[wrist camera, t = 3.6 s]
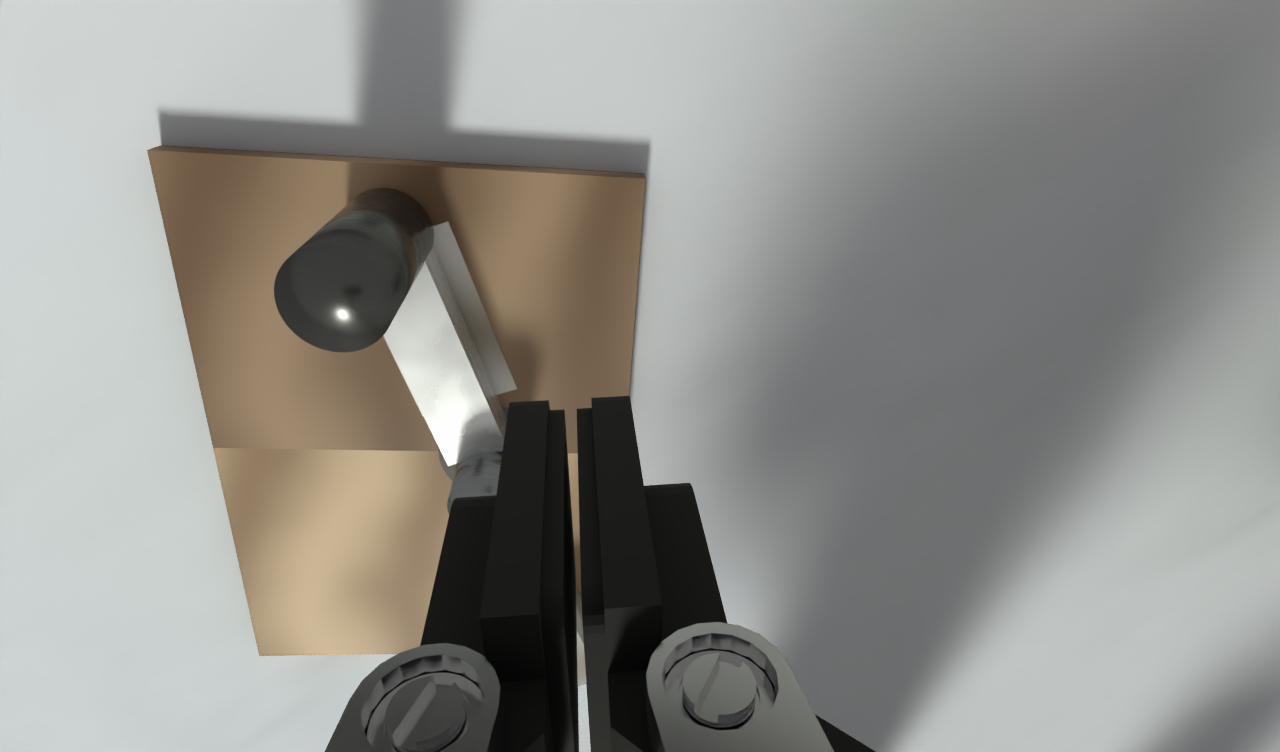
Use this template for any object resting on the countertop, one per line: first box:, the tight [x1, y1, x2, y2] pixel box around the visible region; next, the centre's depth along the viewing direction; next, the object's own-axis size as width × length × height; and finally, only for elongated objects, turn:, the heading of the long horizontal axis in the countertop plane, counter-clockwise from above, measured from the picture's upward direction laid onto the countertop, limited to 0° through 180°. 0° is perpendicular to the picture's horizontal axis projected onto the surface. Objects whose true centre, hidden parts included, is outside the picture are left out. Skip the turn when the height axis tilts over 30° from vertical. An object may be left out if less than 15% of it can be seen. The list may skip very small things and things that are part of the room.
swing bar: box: [274, 188, 507, 514], centre depth 22 cm, size 12×3×6 cm, turn 16°
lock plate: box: [147, 146, 645, 686], centre depth 27 cm, size 15×21×3 cm
